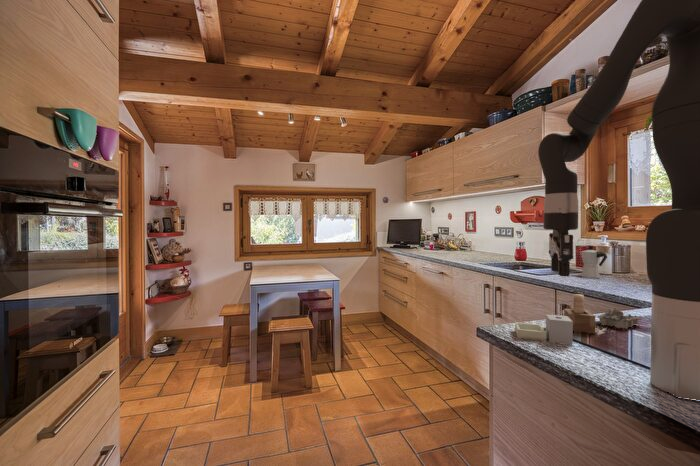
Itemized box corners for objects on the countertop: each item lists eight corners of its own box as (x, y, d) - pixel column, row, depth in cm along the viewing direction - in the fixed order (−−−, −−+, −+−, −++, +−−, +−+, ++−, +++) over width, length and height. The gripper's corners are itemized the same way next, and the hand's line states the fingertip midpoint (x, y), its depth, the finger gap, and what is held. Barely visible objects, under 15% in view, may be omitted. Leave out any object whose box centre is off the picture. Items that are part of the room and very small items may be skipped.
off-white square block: (572, 345, 80) (572, 321, 80) (549, 342, 82) (549, 319, 82) (567, 338, 85) (567, 315, 85) (545, 336, 87) (545, 314, 87)
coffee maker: (573, 275, 185) (574, 245, 184) (584, 275, 188) (585, 244, 187) (600, 280, 171) (601, 246, 170) (612, 279, 173) (612, 246, 173)
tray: (546, 341, 83) (546, 332, 83) (517, 338, 85) (517, 329, 85) (541, 333, 89) (541, 324, 89) (514, 330, 91) (515, 322, 91)
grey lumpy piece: (614, 319, 102) (614, 307, 102) (643, 326, 95) (643, 313, 95) (594, 324, 98) (594, 310, 98) (623, 331, 91) (623, 317, 91)
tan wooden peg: (584, 331, 91) (585, 296, 90) (574, 330, 91) (574, 295, 91) (582, 328, 93) (582, 294, 92) (572, 327, 94) (572, 293, 93)
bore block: (595, 333, 88) (595, 316, 88) (569, 331, 90) (569, 313, 90) (588, 327, 94) (588, 310, 94) (564, 325, 96) (564, 308, 96)
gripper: (539, 212, 91) (538, 269, 91) (549, 210, 78) (548, 277, 78) (570, 212, 88) (569, 270, 88) (586, 210, 75) (585, 278, 75)
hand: (559, 273), depth 83 cm, fingers open, 8 cm apart
